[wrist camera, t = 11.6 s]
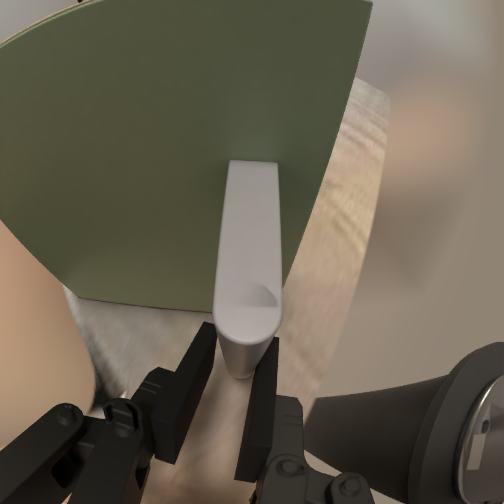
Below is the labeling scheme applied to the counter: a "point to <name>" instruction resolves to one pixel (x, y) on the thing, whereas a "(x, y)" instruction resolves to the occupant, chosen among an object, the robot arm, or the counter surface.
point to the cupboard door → (176, 150)
